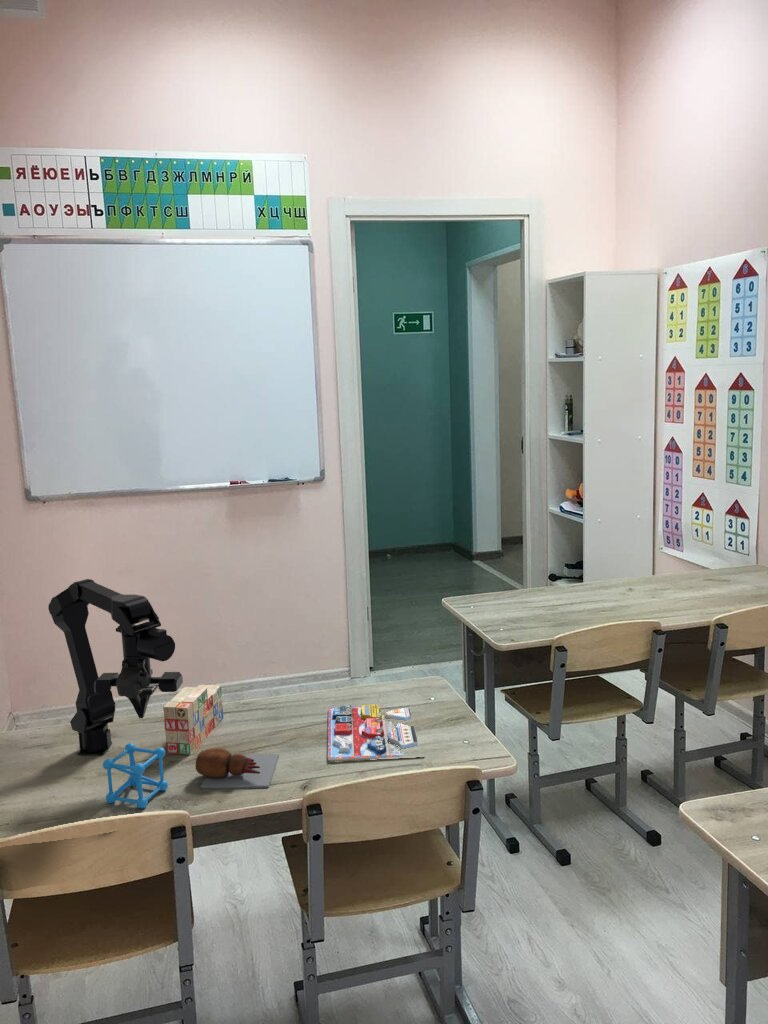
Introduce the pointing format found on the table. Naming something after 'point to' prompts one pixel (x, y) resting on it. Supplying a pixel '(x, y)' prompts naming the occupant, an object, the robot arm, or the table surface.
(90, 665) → the robot arm
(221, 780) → the felt mat
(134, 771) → the molecular structure
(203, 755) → the wooden figurine
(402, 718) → the puzzle board
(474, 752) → the table surface
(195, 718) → the stack of blocks
